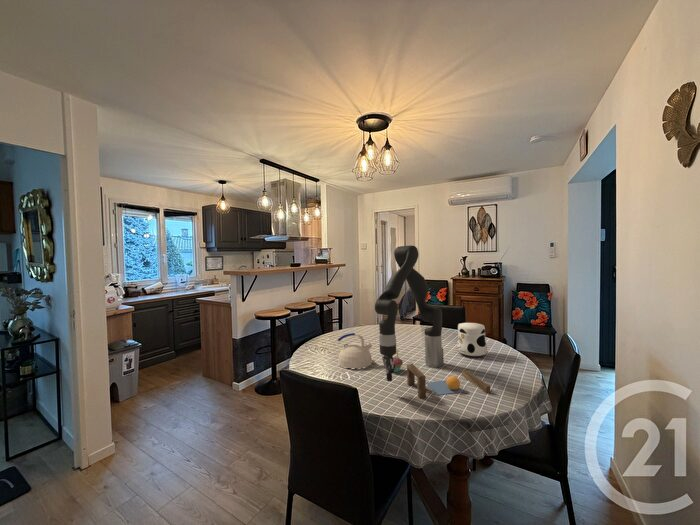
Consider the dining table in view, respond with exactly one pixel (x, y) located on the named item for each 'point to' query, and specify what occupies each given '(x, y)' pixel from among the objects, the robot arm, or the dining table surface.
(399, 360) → the cupcake
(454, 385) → the ball
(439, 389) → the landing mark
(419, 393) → the bridge
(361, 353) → the kettle
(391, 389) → the dining table surface
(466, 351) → the milk container
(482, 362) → the dining table surface
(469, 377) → the wall
